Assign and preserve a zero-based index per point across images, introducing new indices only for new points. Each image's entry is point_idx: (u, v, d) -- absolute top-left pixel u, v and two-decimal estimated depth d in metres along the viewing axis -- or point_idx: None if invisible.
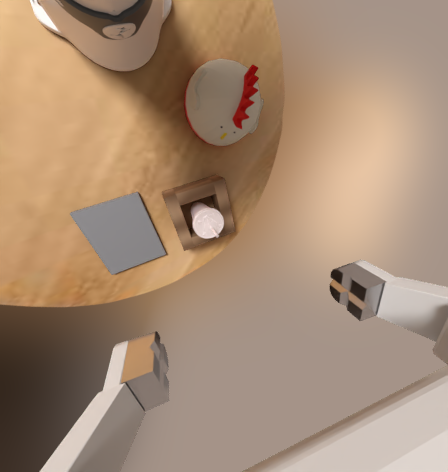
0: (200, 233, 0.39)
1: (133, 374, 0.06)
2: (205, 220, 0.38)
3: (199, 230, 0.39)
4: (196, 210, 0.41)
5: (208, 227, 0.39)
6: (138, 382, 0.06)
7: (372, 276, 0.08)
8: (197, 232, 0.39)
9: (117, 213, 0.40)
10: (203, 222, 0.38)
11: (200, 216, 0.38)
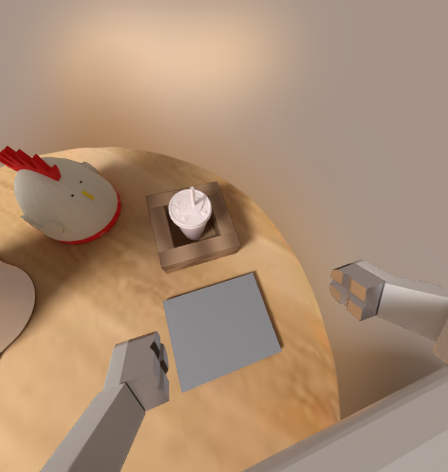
0: (201, 217, 0.29)
1: (133, 374, 0.06)
2: (182, 211, 0.28)
3: (197, 219, 0.28)
4: None
5: (193, 207, 0.29)
6: (138, 382, 0.06)
7: (372, 276, 0.08)
8: (200, 221, 0.28)
9: (187, 329, 0.31)
10: (186, 213, 0.29)
11: (176, 217, 0.28)
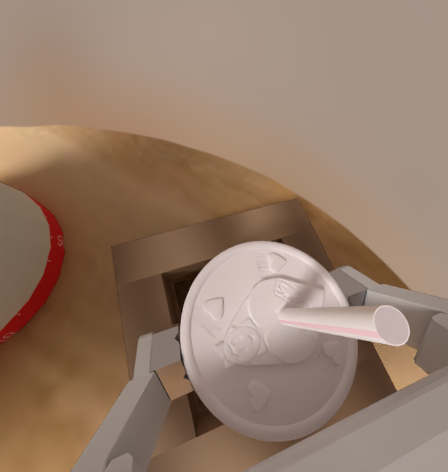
0: (328, 379, 0.06)
1: (161, 363, 0.06)
2: (244, 355, 0.06)
3: (311, 392, 0.06)
4: None
5: (288, 332, 0.07)
6: (166, 371, 0.06)
7: (356, 282, 0.08)
8: (326, 407, 0.06)
9: None
10: (260, 365, 0.06)
11: (219, 390, 0.06)
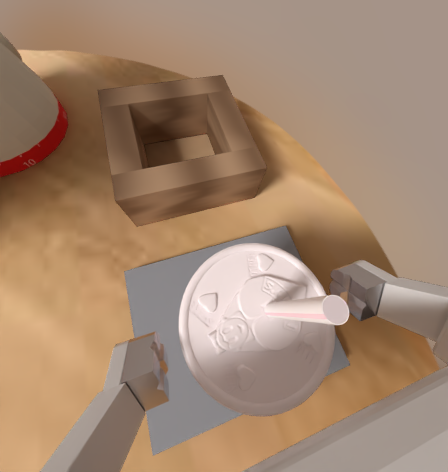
0: (307, 365, 0.07)
1: (133, 374, 0.06)
2: (234, 343, 0.07)
3: (292, 375, 0.07)
4: None
5: (273, 323, 0.08)
6: (138, 382, 0.06)
7: (372, 276, 0.08)
8: (304, 388, 0.07)
9: (168, 323, 0.16)
10: (248, 351, 0.07)
11: (211, 373, 0.07)
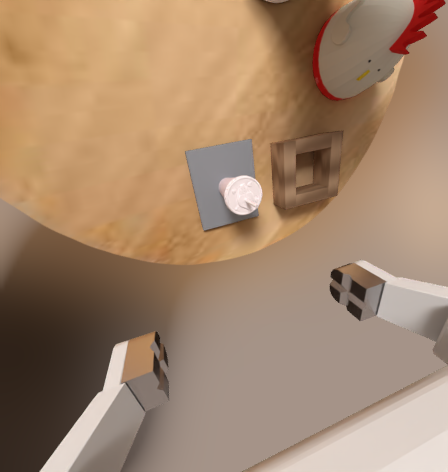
0: (233, 206, 0.32)
1: (133, 374, 0.06)
2: (241, 189, 0.31)
3: (232, 202, 0.32)
4: (229, 180, 0.34)
5: (243, 199, 0.32)
6: (138, 382, 0.06)
7: (372, 276, 0.08)
8: (229, 204, 0.32)
9: (227, 159, 0.38)
10: (238, 193, 0.31)
11: (235, 183, 0.31)
